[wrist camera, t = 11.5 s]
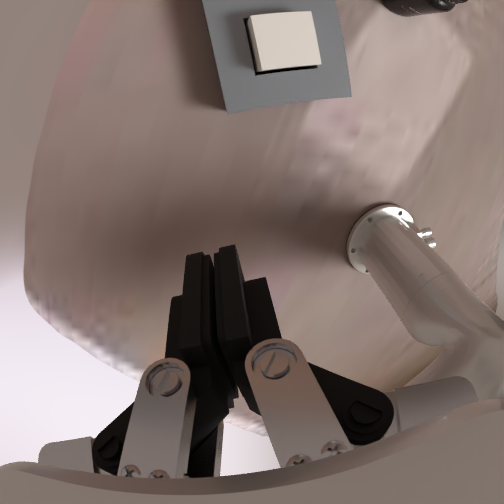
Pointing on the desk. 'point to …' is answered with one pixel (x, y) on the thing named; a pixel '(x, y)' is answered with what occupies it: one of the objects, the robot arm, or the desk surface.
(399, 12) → the supplement bottle
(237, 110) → the key panel
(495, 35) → the desk surface
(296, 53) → the off-white key
